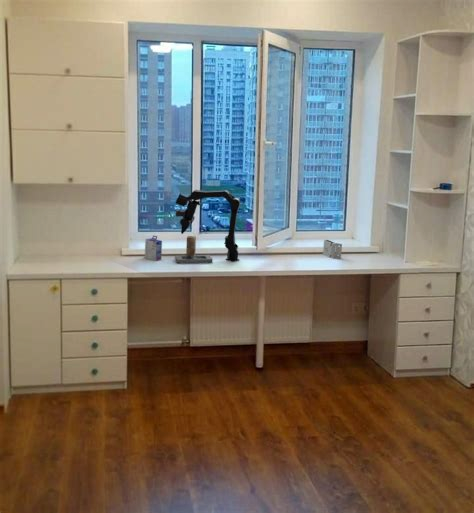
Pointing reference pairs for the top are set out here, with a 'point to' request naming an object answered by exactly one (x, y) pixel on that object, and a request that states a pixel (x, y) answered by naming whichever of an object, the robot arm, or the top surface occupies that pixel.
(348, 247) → the top surface
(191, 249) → the walnut peg
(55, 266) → the top surface
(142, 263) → the top surface
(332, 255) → the hinge
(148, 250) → the ink cartridge box
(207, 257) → the grey flat block
